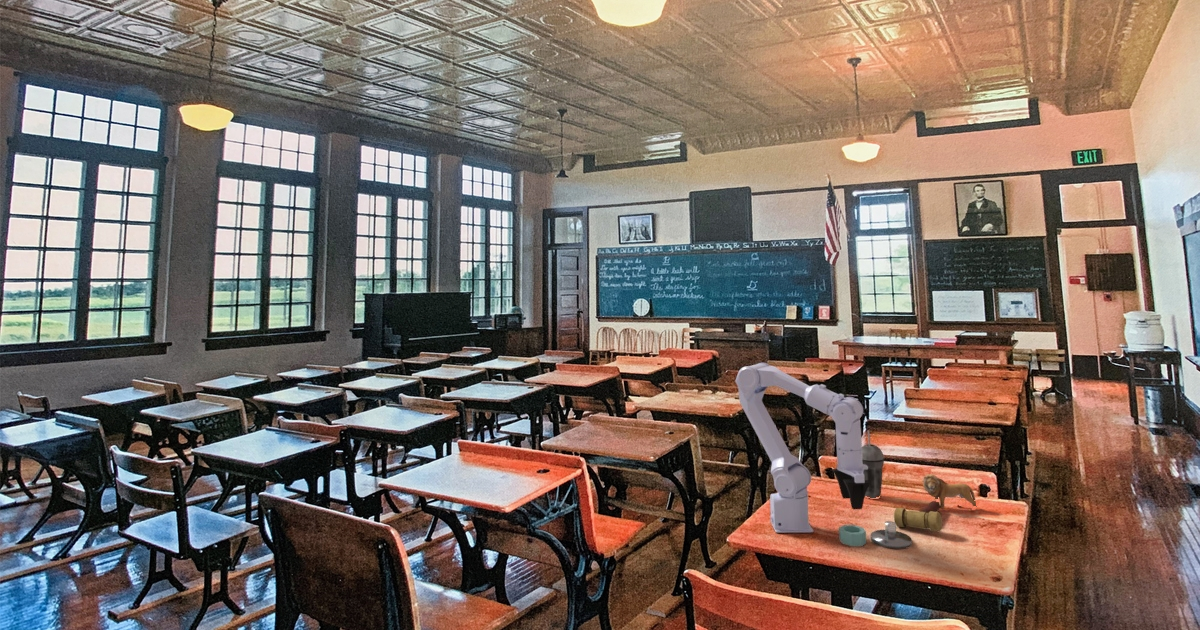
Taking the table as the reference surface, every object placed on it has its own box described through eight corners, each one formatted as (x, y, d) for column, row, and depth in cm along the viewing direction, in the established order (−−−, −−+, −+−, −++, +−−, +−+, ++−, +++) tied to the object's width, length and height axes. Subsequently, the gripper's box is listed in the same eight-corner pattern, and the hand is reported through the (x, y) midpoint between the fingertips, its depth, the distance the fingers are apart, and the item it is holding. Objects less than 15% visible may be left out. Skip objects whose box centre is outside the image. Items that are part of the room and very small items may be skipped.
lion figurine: (928, 510, 162) (928, 476, 162) (919, 504, 167) (918, 472, 167) (984, 510, 161) (983, 477, 161) (973, 505, 166) (972, 472, 167)
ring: (844, 546, 144) (843, 534, 144) (837, 536, 150) (837, 524, 150) (868, 546, 144) (868, 533, 143) (860, 536, 149) (860, 524, 149)
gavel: (917, 493, 168) (957, 496, 161) (919, 509, 168) (959, 514, 161) (892, 509, 153) (935, 514, 146) (894, 528, 153) (938, 533, 146)
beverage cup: (889, 496, 176) (887, 428, 175) (880, 503, 171) (878, 433, 170) (863, 491, 181) (861, 425, 180) (854, 498, 176) (852, 430, 175)
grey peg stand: (878, 549, 142) (877, 530, 142) (865, 533, 151) (864, 516, 150) (918, 549, 141) (917, 530, 141) (902, 533, 150) (902, 515, 150)
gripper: (876, 455, 138) (879, 513, 139) (856, 440, 153) (859, 493, 153) (845, 456, 139) (848, 514, 139) (827, 441, 154) (830, 493, 154)
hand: (852, 503), depth 146 cm, fingers open, 7 cm apart
